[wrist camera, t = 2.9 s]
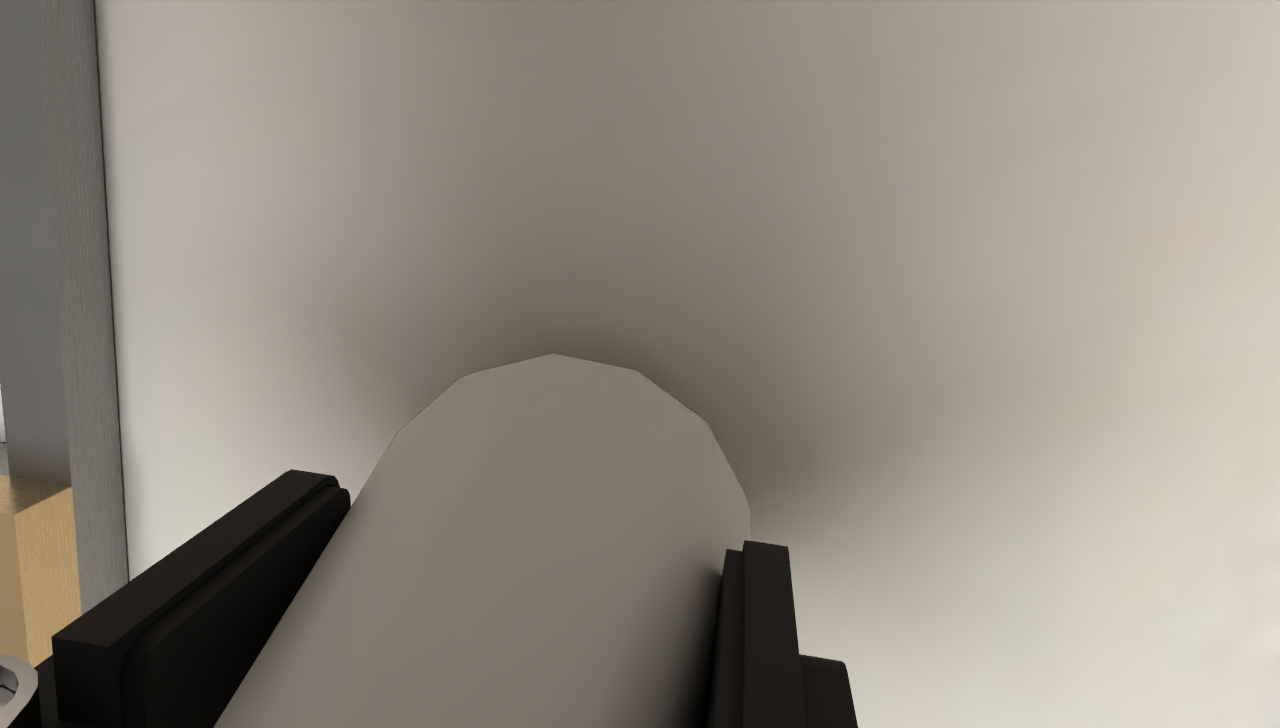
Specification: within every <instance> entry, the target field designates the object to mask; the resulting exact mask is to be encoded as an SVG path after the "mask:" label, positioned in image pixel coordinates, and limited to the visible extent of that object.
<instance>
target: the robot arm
mask: <svg viewBox="0 0 1280 728" xmlns="http://www.w3.org/2000/svg"><path fill="white" fill-rule="evenodd" d="M350 507H351V502H350V494H349V492H348V490H347V489H343V488H340V486H339V483H338V480H337V479H336V478H335V476H331V475H325V474H318V473H312V472H305V471H299V470H289V471H287V472H285V473H284V474H282V475H281V476H280V477H278V478H277V479H275V480H274V481H272V482H271V483H270V484H268V485H267V486H265V487H264V488H263V489H261V490H260V491H258V492H257V493H255V494H254V495H253V496H251V497H250V498H248V499H247V500H245V501H244V502H243V503H241V504H240V505H238V506H237V507H235V508H234V509H233V510H231V511H230V512H228V513H227V514H225V515H224V516H223V517H221V518H220V519H218V520H217V521H215V522H214V523H213V524H211V525H210V526H208V527H207V528H205V529H204V530H203V531H201V532H200V533H198V534H197V535H196V536H194V537H193V538H191V539H190V540H188V541H187V542H186V543H184V544H183V545H181V546H180V547H178V548H177V549H176V550H174V551H173V552H171V553H170V554H168V555H167V556H166V557H164V558H163V559H161V560H160V561H158V562H157V563H156V564H154V565H153V566H151V567H150V568H148V569H147V570H146V571H144V572H143V573H141V574H140V575H138V576H137V577H136V578H134V579H133V580H131V581H130V582H128V583H127V584H126V585H124V586H123V587H121V588H120V589H119V590H117V591H116V592H114V593H113V594H111V595H110V596H109V597H107V598H106V599H104V600H103V601H101V602H100V603H99V604H97V605H96V606H94V607H93V608H91V609H90V610H89V611H87V612H86V613H84V614H83V615H81V616H80V617H79V618H77V619H76V620H74V621H73V622H71V623H70V624H69V625H67V626H66V627H64V628H63V629H61V630H60V631H59V632H57V633H56V634H54V635H53V636H52V637H51V640H52V652H53V654H52V655H51V656H50V657H48V658H47V659H45V660H44V661H43V662H41V663H40V664H39V665H37V666H36V667H34V668H33V667H32V666H31V665H30V663H29V662H27V661H24V660H22V659H19V658H16V657H14V656H10V655H0V728H214V726H215V724H216V723H217V721H218V720H219V718H220V716H221V715H222V713H223V712H224V710H225V708H226V707H227V705H228V704H229V702H230V700H231V699H232V697H233V696H234V694H235V692H236V691H237V689H238V688H239V686H240V684H241V683H242V681H243V680H244V678H245V676H246V675H247V673H248V672H249V670H250V668H251V667H252V665H253V663H254V662H255V660H256V659H257V657H258V655H259V654H260V652H261V651H262V649H263V647H264V646H265V644H266V643H267V641H268V639H269V638H270V636H271V635H272V633H273V631H274V630H275V628H276V627H277V625H278V623H279V622H280V620H281V619H282V617H283V615H284V614H285V612H286V611H287V609H288V607H289V606H290V604H291V603H292V601H293V599H294V598H295V596H296V595H297V593H298V591H299V590H300V588H301V587H302V585H303V583H304V582H305V580H306V578H307V577H308V575H309V574H310V572H311V570H312V569H313V567H314V566H315V564H316V562H317V561H318V559H319V558H320V556H321V554H322V553H323V551H324V550H325V548H326V546H327V545H328V543H329V542H330V540H331V538H332V537H333V535H334V534H335V532H336V530H337V529H338V527H339V526H340V524H341V522H342V521H343V519H344V518H345V516H346V514H347V513H348V511H349V510H350ZM705 728H858V725H857V720H856V715H855V710H854V704H853V699H852V694H851V689H850V684H849V678H848V673H847V669H846V666H845V664H844V663H843V662H842V661H836V660H830V659H824V658H818V657H812V656H806V655H801V654H799V649H798V639H797V629H796V620H795V610H794V600H793V590H792V580H791V571H790V561H789V551H788V547H786V546H780V545H774V544H767V543H761V542H754V541H748V540H744V544H743V549H742V551H738V550H732V549H726V553H725V559H724V566H723V573H722V581H721V589H720V597H719V606H718V614H717V622H716V631H715V639H714V648H713V656H712V664H711V673H710V681H709V690H708V700H707V710H706V720H705Z"/></svg>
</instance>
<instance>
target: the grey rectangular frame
mask: <svg viewBox="0 0 1280 728" xmlns="http://www.w3.org/2000/svg"><path fill="white" fill-rule="evenodd" d="M0 384H1V394H2V404H3V415H4V425H5V435H6V443H0V475H5V476H12V477H18V478H24V479H30V480H36V481H42V482H49V483H55V484H61V485H67V486H72V496H73V508H74V521H75V534H76V547H77V560H78V573H79V586H80V599H81V612H82V615H83V614H84V613H86V612H87V611H89V610H90V609H91V608H93V607H94V606H96V605H97V604H99V603H100V602H101V601H103V600H104V599H106V598H107V597H109V596H110V595H111V594H113V593H114V592H116V591H117V590H119V589H120V588H121V587H123V586H124V585H126V584H127V583H128V572H127V556H126V539H125V522H124V506H123V489H122V473H121V456H120V439H119V423H118V406H117V389H116V373H115V356H114V340H113V323H112V306H111V290H110V273H109V256H108V240H107V223H106V207H105V190H104V173H103V157H102V140H101V123H100V107H99V90H98V74H97V57H96V40H95V24H94V7H93V0H0Z"/></svg>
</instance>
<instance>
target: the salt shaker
mask: <svg viewBox="0 0 1280 728" xmlns="http://www.w3.org/2000/svg"><path fill="white" fill-rule="evenodd" d="M744 540H748V541H751V513H750V506H749V503H748V501H747V498H746V495H745V493H744V491H743V489H742V487H741V485H740V484H739V482H738V480H737V478H736V476H735V474H734V472H733V470H732V468H731V467H730V465H729V463H728V461H727V459H726V457H725V455H724V453H723V451H722V449H721V448H720V446H719V444H718V442H717V440H716V438H715V436H714V434H713V432H712V431H711V429H710V427H709V425H708V423H707V422H706V421H705V420H704V419H702V418H701V417H700V416H698V415H697V414H696V413H694V412H693V411H691V410H690V409H689V408H687V407H686V406H685V405H683V404H682V403H680V402H679V401H678V400H676V399H675V398H674V397H672V396H671V395H670V394H668V393H667V392H665V391H664V390H663V389H661V388H660V387H659V386H657V385H656V384H655V383H653V382H652V381H650V380H649V379H648V378H646V377H645V376H644V375H642V374H641V373H639V372H638V371H637V370H632V369H627V368H622V367H617V366H613V365H608V364H603V363H598V362H593V361H588V360H583V359H579V358H574V357H569V356H564V355H559V354H554V353H551V354H547V355H543V356H539V357H535V358H531V359H527V360H523V361H519V362H515V363H511V364H507V365H503V366H499V367H495V368H491V369H487V370H483V371H479V372H475V373H472V374H470V375H467V376H464V377H462V378H459V379H458V380H457V381H456V382H455V383H453V384H452V385H451V386H450V387H449V388H448V389H447V390H446V391H444V392H443V393H442V394H441V395H440V396H439V397H438V398H436V399H435V400H434V401H433V402H432V403H431V404H430V405H428V406H427V407H426V408H425V409H424V410H423V411H422V412H420V413H419V414H418V415H417V416H416V417H415V418H414V419H412V420H411V421H410V422H409V423H408V424H407V425H406V426H404V427H403V428H402V429H401V430H400V431H399V432H398V433H397V434H396V436H395V437H394V439H393V441H392V442H391V444H390V445H389V447H388V449H387V450H386V452H385V453H384V455H383V457H382V458H381V460H380V461H379V463H378V465H377V466H376V468H375V469H374V471H373V473H372V474H371V476H370V477H369V479H368V481H367V482H366V484H365V485H364V487H363V489H362V490H361V492H360V494H359V495H358V497H357V498H356V500H355V502H354V503H353V505H352V506H351V508H350V510H349V511H348V513H347V514H346V516H345V518H344V519H343V521H342V522H341V524H340V526H339V527H338V529H337V530H336V532H335V534H334V535H333V537H332V538H331V540H330V542H329V543H328V545H327V546H326V548H325V550H324V551H323V553H322V554H321V556H320V558H319V559H318V561H317V562H316V564H315V566H314V567H313V569H312V570H311V572H310V574H309V575H308V577H307V578H306V580H305V582H304V583H303V585H302V587H301V588H300V590H299V591H298V593H297V595H296V596H295V598H294V599H293V601H292V603H291V604H290V606H289V607H288V609H287V611H286V612H285V614H284V615H283V617H282V619H281V620H280V622H279V623H278V625H277V627H276V628H275V630H274V631H273V633H272V635H271V636H270V638H269V639H268V641H267V643H266V644H265V646H264V647H263V649H262V651H261V652H260V654H259V655H258V657H257V659H256V660H255V662H254V663H253V665H252V667H251V668H250V670H249V672H248V673H247V675H246V676H245V678H244V680H243V681H242V683H241V684H240V686H239V688H238V689H237V691H236V692H235V694H234V696H233V697H232V699H231V700H230V702H229V704H228V705H227V707H226V708H225V710H224V712H223V713H222V715H221V716H220V718H219V720H218V721H217V723H216V724H215V726H214V728H705V720H706V710H707V700H708V690H709V681H710V673H711V664H712V656H713V648H714V639H715V631H716V622H717V614H718V606H719V597H720V589H721V581H722V573H723V566H724V559H725V553H726V549H732V550H738V551H742V549H743V544H744Z"/></svg>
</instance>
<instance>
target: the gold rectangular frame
mask: <svg viewBox="0 0 1280 728" xmlns="http://www.w3.org/2000/svg"><path fill="white" fill-rule="evenodd" d="M81 615H82V612H81V599H80V586H79V573H78V560H77V547H76V534H75V521H74V508H73V496H72V486H67V485H61V484H55V483H49V482H42V481H36V480H30V479H24V478H18V477H12V476H5V475H0V655H10V656H14V657H16V658H19V659H22V660H24V661H27V662H29V663H30V665H31V666H32V667H33V668H34V667H36V666H37V665H39V664H40V663H41V662H43V661H44V660H45V659H47V658H48V657H50V656H51V655H52V654H53V652H52V640H51V637H52V636H53V635H54V634H56V633H57V632H59V631H60V630H61V629H63V628H64V627H66V626H67V625H69V624H70V623H71V622H73V621H74V620H76V619H77V618H79V617H80V616H81Z"/></svg>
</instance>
